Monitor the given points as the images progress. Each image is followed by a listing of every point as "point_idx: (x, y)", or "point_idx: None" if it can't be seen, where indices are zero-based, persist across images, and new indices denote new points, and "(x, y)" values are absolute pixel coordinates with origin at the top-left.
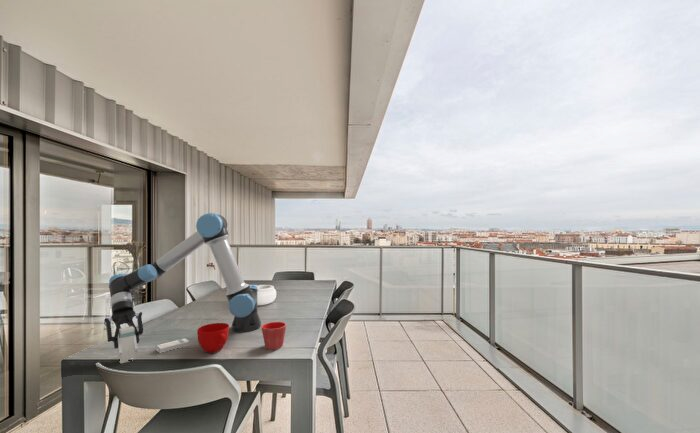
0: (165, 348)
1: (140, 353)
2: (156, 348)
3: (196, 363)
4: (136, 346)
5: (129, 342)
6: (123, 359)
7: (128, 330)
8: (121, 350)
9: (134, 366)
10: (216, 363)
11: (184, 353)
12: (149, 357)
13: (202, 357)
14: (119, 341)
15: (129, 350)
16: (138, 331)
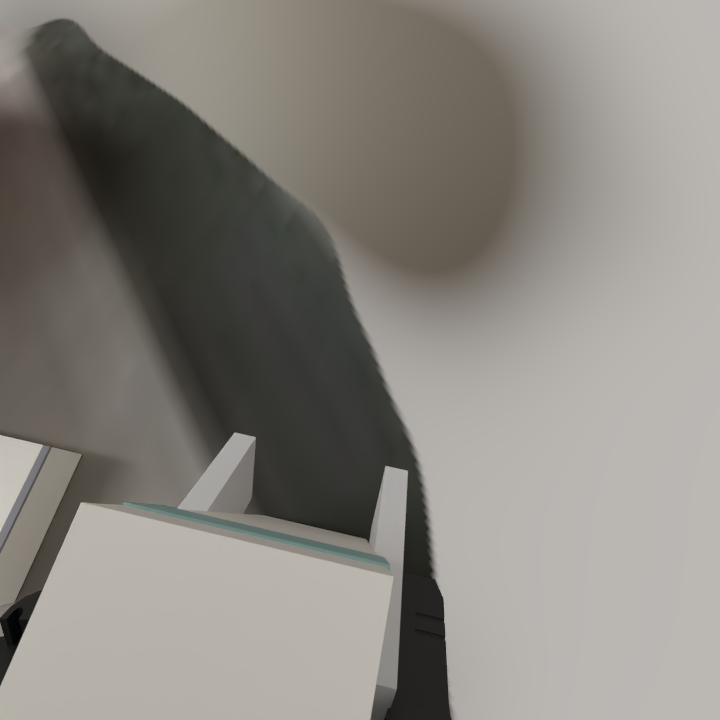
0: (4, 437)
1: None
2: (10, 571)
3: (118, 95)
4: (229, 452)
5: (266, 525)
6: (344, 535)
7: (226, 533)
8: (383, 484)
9: (327, 367)
10: (80, 26)
11: (10, 279)
12: (169, 449)
13: (35, 131)
14: None
15: (284, 524)
16: (6, 615)
